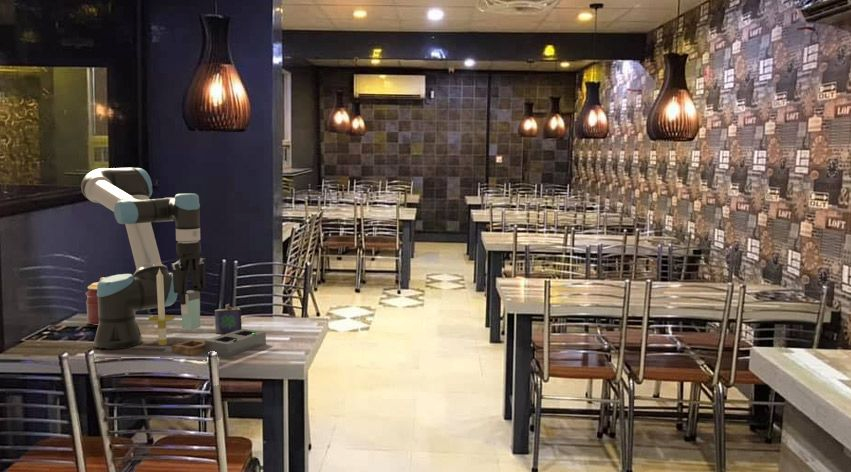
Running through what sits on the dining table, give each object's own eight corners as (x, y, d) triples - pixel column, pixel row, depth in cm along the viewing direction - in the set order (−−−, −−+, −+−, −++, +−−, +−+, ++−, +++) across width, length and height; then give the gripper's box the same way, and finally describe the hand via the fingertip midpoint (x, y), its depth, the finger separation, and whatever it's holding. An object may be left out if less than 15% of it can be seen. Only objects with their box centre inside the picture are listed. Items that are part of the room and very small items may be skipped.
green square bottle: (182, 328, 242) (180, 292, 240) (191, 325, 245) (190, 290, 244) (191, 329, 240) (189, 293, 238) (200, 327, 243) (199, 291, 242)
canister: (86, 327, 278) (83, 281, 276) (88, 320, 290) (85, 275, 288) (123, 324, 282) (121, 278, 280) (123, 317, 294) (121, 273, 292)
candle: (155, 342, 257) (152, 265, 253) (183, 342, 256) (180, 265, 252) (141, 349, 247) (137, 270, 244) (170, 350, 246) (167, 270, 243)
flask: (215, 335, 266) (214, 305, 265) (215, 333, 269) (214, 304, 268) (241, 333, 269) (241, 304, 267) (241, 331, 271) (240, 302, 270)
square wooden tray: (172, 354, 241) (171, 345, 241) (193, 347, 249) (192, 339, 249) (192, 357, 237) (191, 348, 237) (212, 351, 245) (212, 342, 245)
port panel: (205, 355, 240) (204, 339, 239) (243, 342, 256) (243, 327, 255) (228, 359, 235) (227, 343, 234) (266, 346, 251) (265, 330, 250)
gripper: (176, 245, 230) (178, 319, 233) (216, 239, 244) (218, 308, 247) (159, 243, 233) (161, 316, 236) (199, 237, 248) (201, 306, 251)
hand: (190, 312), depth 242 cm, fingers closed on green square bottle, 4 cm apart
